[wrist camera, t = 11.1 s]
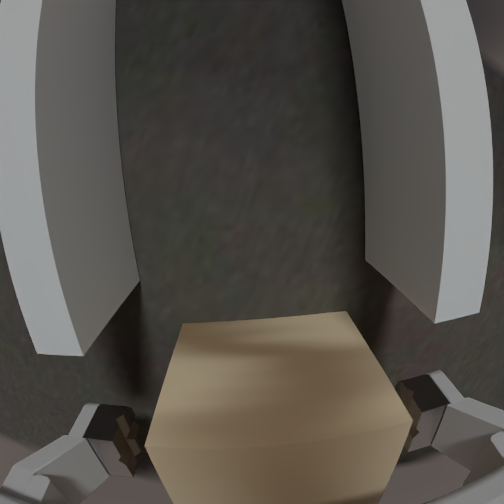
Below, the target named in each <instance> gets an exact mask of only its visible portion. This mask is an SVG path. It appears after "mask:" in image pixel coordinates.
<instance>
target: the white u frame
mask: <svg viewBox="0 0 504 504" xmlns="http://www.w3.org/2000/svg"><path fill="white" fill-rule="evenodd" d="M342 3H343V8H344V13H345V18H346V23H347V29H348V35H349V40H350V46H351V53H352V59H353V66H354V73H355V81H356V89H357V97H358V106H359V116H360V127H361V139H362V153H363V169H364V193H365V260H366V261H367V262H368V263H369V264H370V265H372V266H373V267H374V268H375V269H376V270H377V271H378V272H379V273H381V274H382V275H383V276H384V277H385V278H386V279H387V280H388V281H389V282H391V283H392V284H393V285H394V286H395V287H396V288H397V289H398V290H399V291H400V292H402V293H403V294H404V295H405V296H406V297H407V298H408V299H409V300H410V301H411V302H412V303H413V304H415V305H416V306H417V307H418V308H419V309H420V310H421V311H422V312H423V313H424V314H425V315H426V316H427V317H428V318H429V319H430V320H431V321H432V322H434V323H438V322H443V321H447V320H451V319H455V318H459V317H463V316H467V315H471V314H475V313H479V311H480V306H481V301H482V296H483V290H484V284H485V278H486V271H487V263H488V255H489V246H490V236H491V223H492V204H493V155H492V136H491V124H490V113H489V105H488V97H487V90H486V83H485V77H484V71H483V66H482V61H481V56H480V51H479V47H478V42H477V38H476V34H475V30H474V26H473V23H472V19H471V16H470V12H469V9H468V6H467V2H466V0H342ZM115 14H116V0H1V3H0V231H1V236H2V241H3V245H4V250H5V254H6V258H7V262H8V266H9V270H10V274H11V278H12V281H13V285H14V288H15V292H16V295H17V298H18V301H19V304H20V308H21V311H22V314H23V317H24V319H25V322H26V325H27V328H28V331H29V333H30V336H31V339H32V341H33V344H34V346H35V349H36V351H37V354H51V355H69V356H84V355H85V353H86V352H87V350H88V349H89V348H90V346H91V345H92V343H93V342H94V341H95V339H96V338H97V337H98V335H99V334H100V332H101V331H102V330H103V328H104V327H105V326H106V324H107V323H108V322H109V320H110V319H111V318H112V316H113V315H114V314H115V312H116V311H117V310H118V308H119V307H120V306H121V304H122V303H123V302H124V301H125V299H126V298H127V297H128V295H129V294H130V293H131V291H132V290H133V289H134V288H135V286H136V285H137V284H138V283H139V281H140V279H139V274H138V269H137V264H136V259H135V253H134V248H133V242H132V236H131V230H130V224H129V218H128V211H127V204H126V197H125V190H124V182H123V174H122V165H121V155H120V145H119V134H118V121H117V105H116V83H115Z"/></svg>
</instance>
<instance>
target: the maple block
mask: <svg viewBox="0 0 504 504" xmlns="http://www.w3.org/2000/svg"><path fill="white" fill-rule="evenodd" d="M412 422H413V420H412V418H411V416H410V414H409V413H408V411H407V409H406V408H405V406H404V404H403V402H402V401H401V399H400V397H399V396H398V394H397V392H396V391H395V389H394V387H393V386H392V384H391V382H390V381H389V379H388V377H387V376H386V374H385V372H384V371H383V369H382V367H381V366H380V364H379V363H378V361H377V359H376V358H375V356H374V354H373V353H372V351H371V350H370V348H369V346H368V345H367V343H366V342H365V340H364V338H363V337H362V335H361V334H360V332H359V330H358V329H357V327H356V326H355V324H354V323H353V321H352V319H351V318H350V316H349V315H348V313H347V312H346V311H342V312H333V313H323V314H314V315H304V316H293V317H281V318H269V319H256V320H242V321H225V322H207V323H184V324H183V325H182V328H181V331H180V334H179V337H178V340H177V343H176V346H175V349H174V352H173V355H172V358H171V361H170V364H169V367H168V370H167V374H166V377H165V380H164V383H163V386H162V389H161V393H160V396H159V399H158V402H157V406H156V409H155V412H154V415H153V419H152V422H151V425H150V429H149V432H148V436H147V439H146V442H145V448H146V450H147V452H148V454H149V457H150V459H151V461H152V463H153V465H154V467H155V469H156V471H157V473H158V475H159V477H160V479H161V481H162V483H163V485H164V487H165V489H166V491H167V492H168V494H169V496H170V498H171V500H172V502H173V503H174V504H378V503H379V501H380V499H381V497H382V495H383V492H384V490H385V488H386V486H387V484H388V482H389V479H390V477H391V475H392V473H393V471H394V468H395V466H396V464H397V461H398V459H399V456H400V454H401V451H402V449H403V446H404V444H405V441H406V438H407V436H408V433H409V430H410V427H411V425H412Z"/></svg>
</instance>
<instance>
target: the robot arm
mask: <svg viewBox="0 0 504 504" xmlns="http://www.w3.org/2000/svg"><path fill="white" fill-rule="evenodd" d="M395 391H396V392H397V394H398V396H399V397H400V399H401V401H402V402H403V404H404V406H405V408H406V409H407V411H408V413H409V414H410V416H411V418H412V420H413V422H412V425H411V427H410V430H409V433H408V436H407V438H406V441H405V444H404V445H405V447H406V449H407V451H408V452H410V451H413V450H416V449H420V448H423V447H426V446H429V445H431V446H432V447H433V448H435V449H437V450H438V451H440V452H441V453H443V454H445V455H446V456H448V457H449V458H451V459H453V460H454V461H456V462H457V463H459V464H461V465H462V466H464V467H466V468H467V469H469V470H470V471H471V472H470V473H469V475H468V476H467V478H466V480H465V481H464V483H463V487H461V488H459V489H457V490H455V491H452V492H450V493H448V494H446V495H443V496H441V497H439V498H436V499H433V500H431V501H428V502H426V503H424V504H504V410H501V409H498V408H495V407H492V406H490V405H487V404H484V403H482V402H479V401H476V400H474V399H471V398H465V399H464V397H463V396H462V395H461V394H460V392H459V391H458V390H457V389H456V388H455V386H454V385H453V384H452V383H451V382H450V380H449V379H448V378H447V377H446V375H445V374H444V373H443V372H442V371H440V370H437V371H434V372H431V373H427V374H425V375H421V376H417V377H413V378H410V379H406V380H402V381H398V383H397V384H396V387H395ZM134 417H135V414H134V412H133V410H132V408H131V407H128V406H117V405H106V404H94V403H87V404H85V405H84V407H83V409H82V411H81V412H80V414H79V416H78V418H77V420H76V422H75V423H74V425H73V427H72V429H71V431H70V433H69V435H68V436H67V435H63V436H62V437H60V438H58V439H57V440H55V441H54V442H52V443H50V444H49V445H47V446H45V447H44V448H42V449H40V450H39V451H37V452H35V453H33V454H32V455H30V456H29V457H27V458H25V459H23V460H22V461H20V462H18V463H16V464H14V466H13V467H12V469H11V471H10V472H9V474H8V476H7V478H6V479H5V481H4V483H3V485H2V487H1V488H0V504H80V503H81V502H82V501H83V500H84V499H86V498H87V497H88V496H89V495H90V494H91V493H92V492H93V491H94V490H95V489H96V488H97V487H99V486H100V485H101V484H102V483H103V482H104V481H105V480H106V479H107V478H108V477H109V475H114V476H122V477H132V478H133V477H134V474H135V471H136V467H137V464H138V461H137V459H136V458H135V456H136V455H138V454H139V453H140V452H141V450H142V446H143V435H142V430H141V428H140V426H139V424H137V423H136V422H135V421H133V420H134Z"/></svg>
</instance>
